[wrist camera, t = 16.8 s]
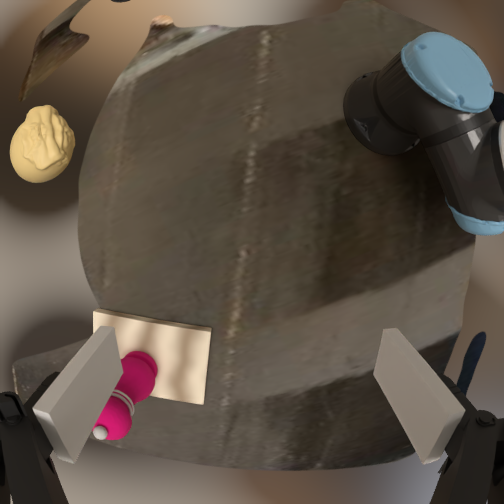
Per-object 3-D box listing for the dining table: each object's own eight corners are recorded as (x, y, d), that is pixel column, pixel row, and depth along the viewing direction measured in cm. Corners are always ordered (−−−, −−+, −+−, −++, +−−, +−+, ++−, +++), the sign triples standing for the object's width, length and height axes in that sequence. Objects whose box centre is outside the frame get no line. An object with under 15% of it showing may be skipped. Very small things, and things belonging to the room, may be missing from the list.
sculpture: (90, 165, 46) (59, 154, 36) (39, 194, 46) (3, 191, 35) (76, 109, 45) (46, 89, 34) (27, 140, 45) (-7, 129, 34)
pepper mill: (157, 348, 48) (118, 415, 28) (163, 385, 49) (133, 462, 29) (117, 347, 48) (63, 408, 28) (124, 384, 48) (81, 453, 28)
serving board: (211, 327, 50) (210, 332, 48) (204, 398, 51) (203, 404, 49) (97, 308, 49) (93, 311, 47) (99, 377, 50) (95, 382, 48)
